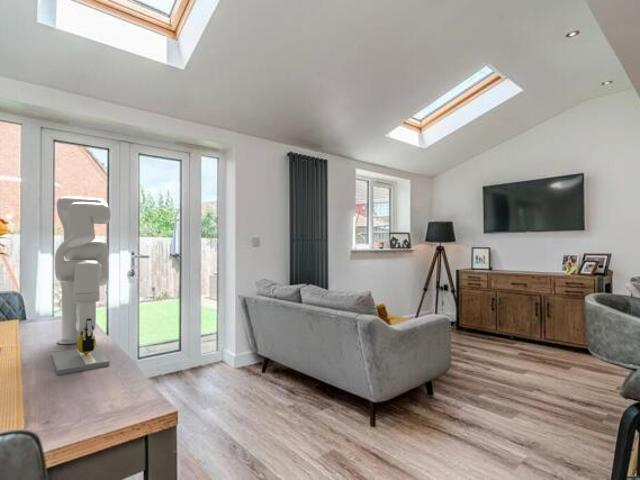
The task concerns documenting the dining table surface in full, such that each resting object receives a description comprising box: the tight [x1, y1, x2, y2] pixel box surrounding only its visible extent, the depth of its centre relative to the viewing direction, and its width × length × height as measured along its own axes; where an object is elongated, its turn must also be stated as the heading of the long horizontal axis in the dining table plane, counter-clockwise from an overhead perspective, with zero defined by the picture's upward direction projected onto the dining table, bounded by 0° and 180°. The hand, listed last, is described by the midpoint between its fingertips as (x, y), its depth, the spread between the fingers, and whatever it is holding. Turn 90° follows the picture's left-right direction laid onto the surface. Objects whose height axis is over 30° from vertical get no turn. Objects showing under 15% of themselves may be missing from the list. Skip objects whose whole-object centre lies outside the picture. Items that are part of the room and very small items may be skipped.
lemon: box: [76, 333, 97, 355], centre depth 127 cm, size 6×6×8 cm
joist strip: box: [76, 348, 96, 364], centre depth 126 cm, size 22×3×1 cm, turn 40°
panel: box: [51, 345, 110, 376], centre depth 125 cm, size 24×14×2 cm, turn 40°
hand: (86, 348), depth 127 cm, fingers open, 6 cm apart
